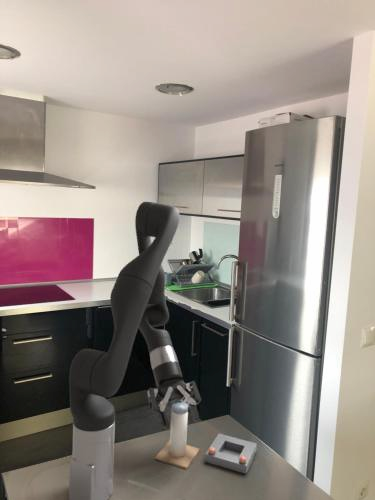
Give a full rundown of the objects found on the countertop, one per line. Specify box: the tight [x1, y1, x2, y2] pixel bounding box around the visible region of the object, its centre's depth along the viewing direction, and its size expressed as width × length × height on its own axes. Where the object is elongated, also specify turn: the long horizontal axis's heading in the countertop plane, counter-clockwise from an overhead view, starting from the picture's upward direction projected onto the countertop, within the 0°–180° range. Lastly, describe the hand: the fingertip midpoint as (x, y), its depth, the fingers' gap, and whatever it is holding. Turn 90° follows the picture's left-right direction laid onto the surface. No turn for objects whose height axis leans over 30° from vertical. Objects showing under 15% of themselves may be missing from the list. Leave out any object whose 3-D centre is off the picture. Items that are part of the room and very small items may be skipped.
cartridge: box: [169, 401, 189, 458], centre depth 107 cm, size 4×4×13 cm
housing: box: [204, 433, 258, 475], centre depth 108 cm, size 11×11×4 cm
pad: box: [154, 440, 201, 470], centre depth 108 cm, size 9×9×1 cm
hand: (181, 424), depth 105 cm, fingers open, 8 cm apart
